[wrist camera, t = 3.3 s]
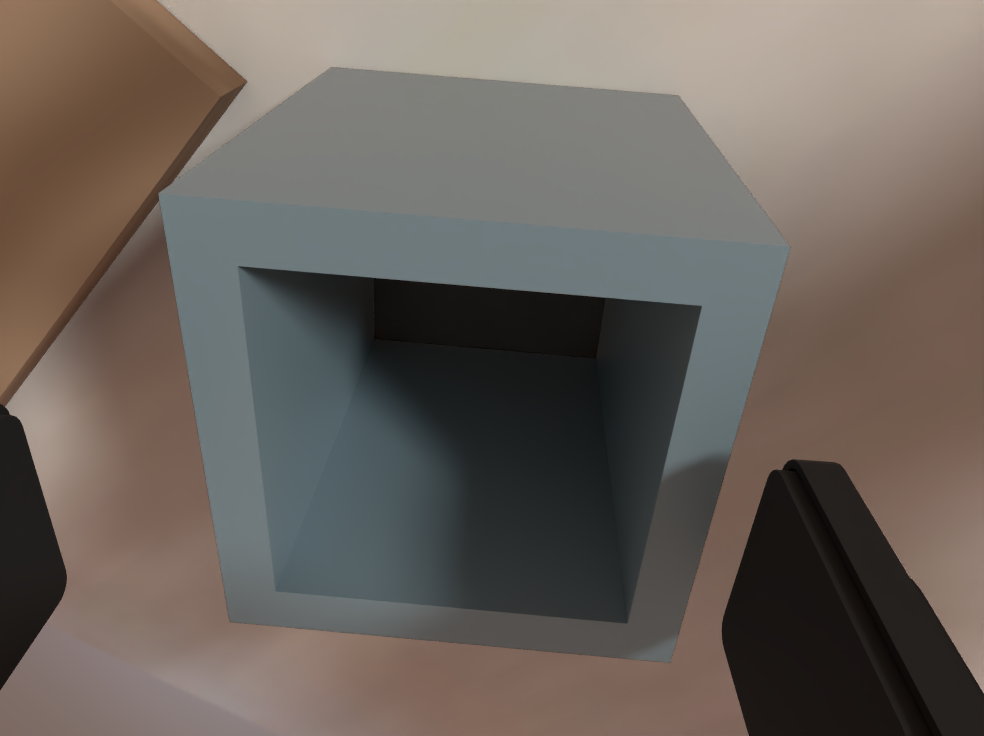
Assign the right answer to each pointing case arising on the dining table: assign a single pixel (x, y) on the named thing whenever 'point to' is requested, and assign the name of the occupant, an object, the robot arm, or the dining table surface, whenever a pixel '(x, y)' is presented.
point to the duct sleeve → (468, 359)
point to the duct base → (88, 149)
